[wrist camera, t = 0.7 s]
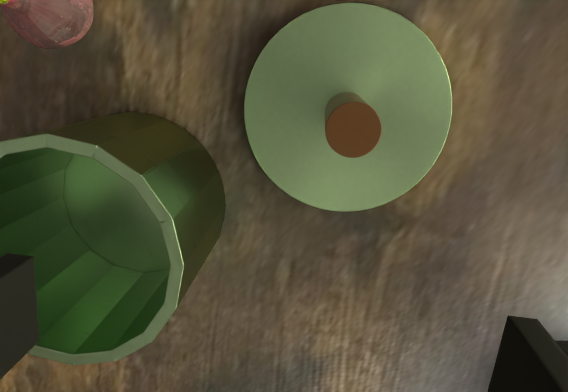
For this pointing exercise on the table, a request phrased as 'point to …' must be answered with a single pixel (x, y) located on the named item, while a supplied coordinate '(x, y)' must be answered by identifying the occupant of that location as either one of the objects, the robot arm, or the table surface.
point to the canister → (108, 228)
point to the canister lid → (348, 107)
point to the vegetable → (49, 20)
